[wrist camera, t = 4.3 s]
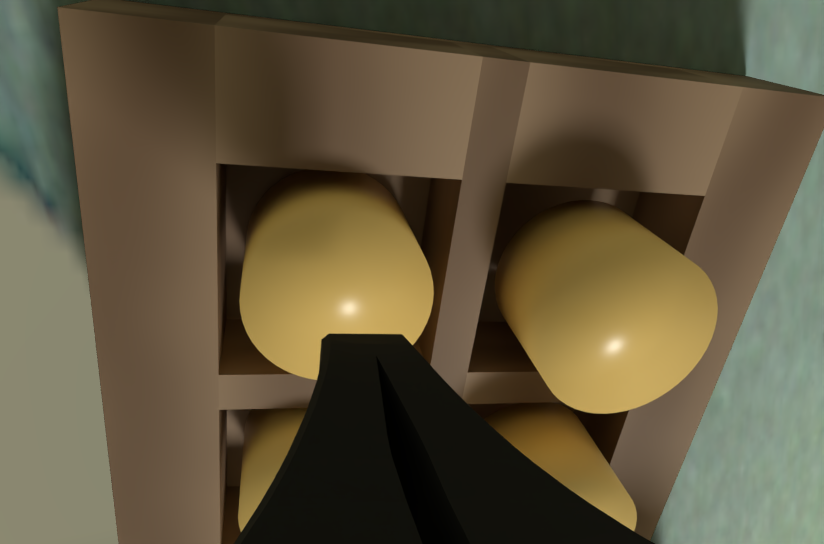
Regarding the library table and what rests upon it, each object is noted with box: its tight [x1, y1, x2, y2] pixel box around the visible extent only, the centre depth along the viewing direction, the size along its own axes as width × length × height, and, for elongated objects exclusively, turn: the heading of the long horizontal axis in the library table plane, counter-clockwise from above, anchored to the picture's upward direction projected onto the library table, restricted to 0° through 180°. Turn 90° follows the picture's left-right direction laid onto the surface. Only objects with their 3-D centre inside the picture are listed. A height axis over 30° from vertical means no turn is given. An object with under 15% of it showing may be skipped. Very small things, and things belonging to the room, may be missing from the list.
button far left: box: [238, 408, 307, 532], centre depth 16 cm, size 4×4×3 cm
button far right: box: [484, 402, 637, 531], centre depth 17 cm, size 4×4×3 cm
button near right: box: [495, 200, 718, 414], centre depth 14 cm, size 4×4×3 cm
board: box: [57, 0, 824, 544], centre depth 17 cm, size 16×16×3 cm
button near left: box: [239, 169, 434, 380], centre depth 14 cm, size 4×4×3 cm
